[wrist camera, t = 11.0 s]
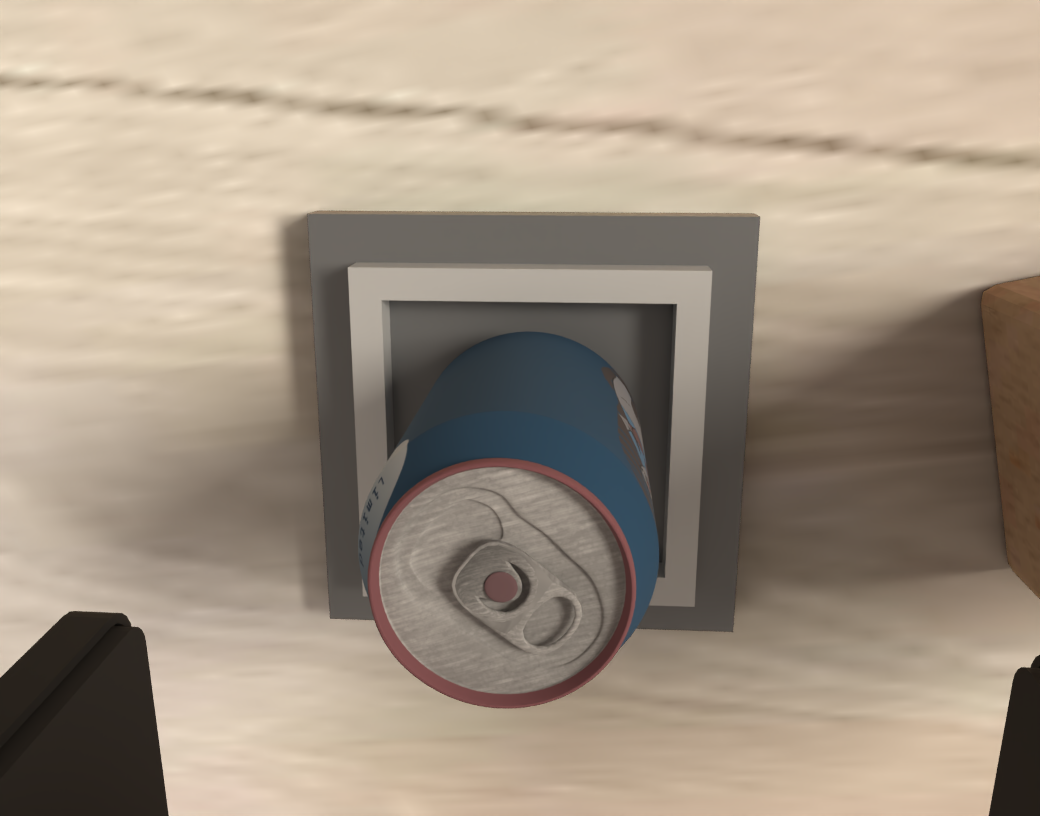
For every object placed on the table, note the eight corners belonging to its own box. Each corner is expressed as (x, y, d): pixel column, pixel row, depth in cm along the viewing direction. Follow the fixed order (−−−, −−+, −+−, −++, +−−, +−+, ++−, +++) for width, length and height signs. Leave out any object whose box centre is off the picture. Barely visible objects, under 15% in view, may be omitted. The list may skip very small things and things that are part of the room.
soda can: (385, 441, 33) (275, 608, 21) (514, 278, 31) (470, 366, 20) (548, 565, 34) (526, 790, 22) (683, 413, 32) (735, 572, 20)
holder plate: (317, 210, 32) (296, 217, 30) (754, 213, 31) (767, 220, 29) (338, 602, 36) (321, 635, 34) (728, 615, 35) (737, 649, 33)
